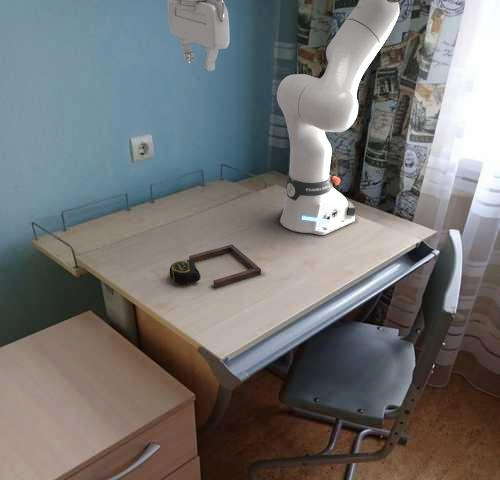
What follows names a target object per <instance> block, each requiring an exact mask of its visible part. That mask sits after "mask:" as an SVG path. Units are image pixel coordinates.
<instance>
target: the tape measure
mask: <svg viewBox="0 0 500 480" xmlns="http://www.w3.org/2000/svg"><path fill="white" fill-rule="evenodd" d="M195 263H196V262H193V260H189V259H188V260H178V261H175V262H174V263H172V264H171V265H170V267H169V278H170V279H171V281H172V282H174V284H177V285H189V284H192V283H196V282H199V281H201V272H200V271H199V269H198V268H197V265H196V264H195Z"/></svg>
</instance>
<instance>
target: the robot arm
mask: <svg viewBox="0 0 500 480" xmlns="http://www.w3.org/2000/svg"><path fill="white" fill-rule="evenodd" d="M402 1H403V0H358V2H357V4H356V6H355V7H354V8H353V9H352V11H351V12H350V13H349V14H348V16H347V17H346V19H345V21H344V22H343V23H342V25H341V26H340V27H339V29H338V30H337V32H336V33H335V35H334V36H333V38H332V39H331V41H330V42H329V44H328V45H327V46H326V51H325V56H326V60H327V66H326V69H325V71H324V73H323V75H322V76H321V77H320V78H318V77H315V76H312V75H309V74H306V73H305V74H304V73H298V74H297V73H295V74H294V73H293V74H289V75H287V76H285V77H284V78H283V79H282V80H281V82H280V84H279V85H278V88H277V90H276V101H277V104H278V107H279V108H280V110H281V112H282V114H283V116H284V117H283V118H284V120H285V124H286V129H287V133H288V140H289V166H288V167H289V170H288V173H287V176H286V184H285V185H286V197H285V203H284V206H283V210H282V213H281V216H280V218H279V222H280V224H281V225H282V226H283V227H284V228H286V229H288V230H290V231H292V232H297V233H303V234H314V235H318V236H325V235H328V234H330V233H332V232H334V231H336V230H338V229H341V228H343V227H345V226H347V225H350V224H351V223H354V222H356V216H355V214H356V211H357V209H356V207H355V206H354V204H353V203H352V202H351V201H350V200H347V198H346V197H345V196H344V195H343V194H342V193H341V192H340V191H338V190H337V189H336V188H334V186H333V184H334V185H335V186H339V184H340V183H341V178H340V177H338V176H336V175H333V176H332V174H330V169H331V160H332V153H333V152H332V151H333V150H332V146H331V142H329V140H328V138H327V136H326V132H330V133H343V132H345V131H347V130H348V129H350V128H351V126H352V125H353V124H354V123H355V121H356V119H357V117H358V112H359V102H358V99H357V98H358V97H357V93H358V88H359V84H360V81H361V79H362V77H363V75H364V74H365V72H366V70H367V69H368V67H369V66H370V64H371V63H372V61H373V60H374V59H375V57H376V56H377V54H378V52H379V51H380V49H381V48H382V47H383V45H384V43H385V42H386V40H387V39H388V37H389V36H390V34H391V32H392V30H393V28H394V27H395V24H396V22H397V20H398V17H399V15H400V4H399V3H400V2H402ZM167 18H168V26H169V31H170V33H171V35H172V36H174V37H176V38H179V44H180V48H181V51H182V53H183V61H184V62H185V63H188V64H190V63H194V61H195V59H194V58H195V54H194V52H193V49H192V43H194V44H197V45H200V46H203V47H205V53H206V57H205V60H203V69H204V70H205V71H207V72H214V71H215V70H216V60H217V57H218V55H219V50H224V49H225V50H226V49H227V48H228V47H229V45H230V39H231V38H230V21H229V11H228V7H227V6H226V4H225V1H224V0H167Z"/></svg>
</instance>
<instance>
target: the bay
mask: <svg viewBox="0 0 500 480" xmlns="http://www.w3.org/2000/svg"><path fill="white" fill-rule="evenodd" d="M229 253H230V254H232V255H233V256H234V257H235V258H236V259H237V260H238V261H239V262H241V263H242V264H243V265H244V266H245V267H246V268H248V269H247V270H243V271H239V272H238V273H234V274H230V275H227V276H224V277H219V278H216V279H214V280H213V281H212V282H213V285H212V286H213V287H214V288H215V289H218V288H221V287H224V286H228V285H231V284H234V283H237V282H242V281H244V280H247V279H248V280H249V279H251V278H254V277H257V276H262V268H261V267H259V266H258V264H256V263H255V262H254V261H252V260H251V259H250V258H249V257H248V256H247V255H246V254H244V253H243V252H242V251H241V250H240V249H238V248H237V247H236V246H235V245H234V244H231V243H230V244H228V245H224V246H220V247H217V248H213V249H210V250H205V251H202V252H199V253H195V254H191V255H188V260H193V262H195V263H197V262H201V261H205V260H208V259H212V258H215V257H219V256H222V255H226V254H229Z"/></svg>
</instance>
